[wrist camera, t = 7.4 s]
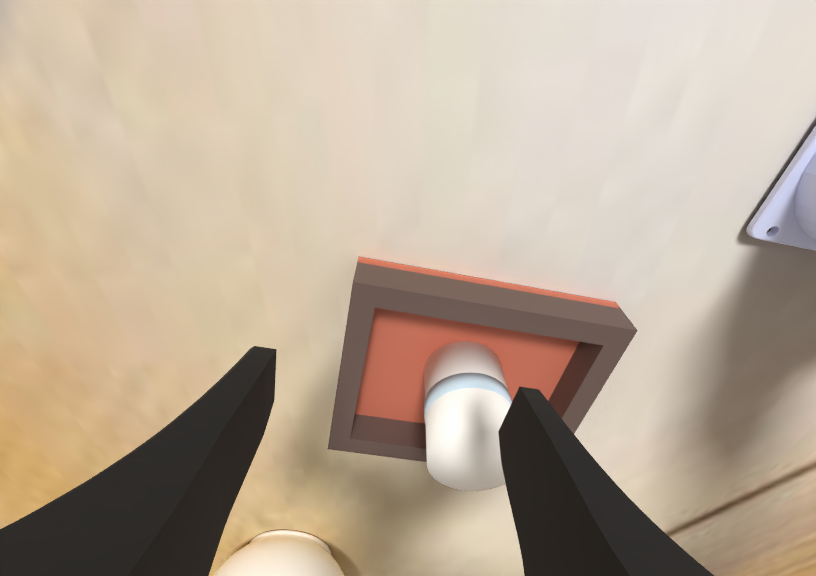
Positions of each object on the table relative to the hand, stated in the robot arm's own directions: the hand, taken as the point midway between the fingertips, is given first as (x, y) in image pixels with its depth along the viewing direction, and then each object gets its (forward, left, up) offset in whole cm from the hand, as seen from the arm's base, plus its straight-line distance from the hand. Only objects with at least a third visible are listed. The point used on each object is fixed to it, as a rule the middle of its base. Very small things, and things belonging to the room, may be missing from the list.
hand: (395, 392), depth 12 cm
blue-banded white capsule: (-5, +7, -9) cm, 13 cm away
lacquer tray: (-5, +7, -10) cm, 13 cm away
